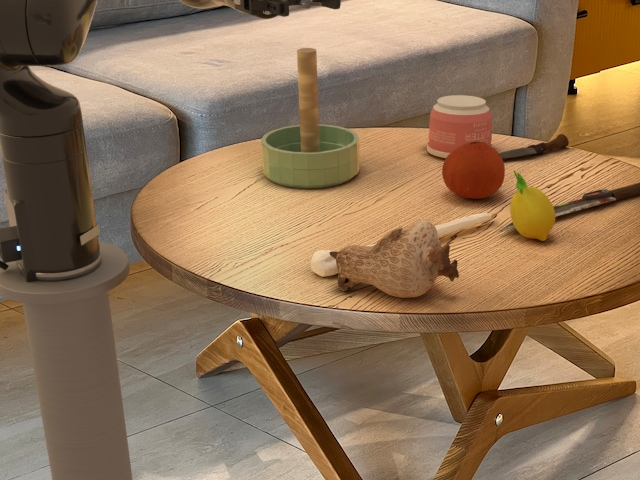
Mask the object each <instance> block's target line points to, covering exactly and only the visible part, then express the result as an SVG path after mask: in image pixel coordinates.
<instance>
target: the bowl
mask: <svg viewBox="0 0 640 480" xmlns="http://www.w3.org/2000/svg"><path fill="white" fill-rule="evenodd" d="M319 141H320V152H301V138H300V124H295V125H288V126H283V127H280V128H276V129H273V130H270V131H269V132H267V133H265V134H263V136H262V138H260V144H261V145H260V146H261V161H262V173H263V175H264V176H265V177H266V178H267V179H269V180H270V181H271V182H273V183H274V184H277V185H280V186H284V187H287V188H295V189H323V188H330V187H335V186H339V185H341V184H345V183H347V182H348V181H350V180H351V179H353V178H354V177H355V176H356V175H358V174H359V172H360V170H361V162H360V161H361V160H360V152H361V151H360V137H359V134H358V133H357V132H355V131H354V130H352V129H350V128H346V127H343V126H340V125H333V124H332V125H331V124H323V123H322V124H320V123H319Z"/></svg>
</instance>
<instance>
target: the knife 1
mask: <svg viewBox="0 0 640 480" xmlns="http://www.w3.org/2000/svg"><path fill="white" fill-rule="evenodd" d="M569 144H570V141H569V139H568V137H567V136H566V135H565V134H564V133H559V134H558V135H557V136H556V137H555V138H553V139H552V140H550V141H548V142H540V143H537V144H529V145H528V146H526V147H520V148H519V147H518V148H514V149H510V150H506V151H503V152H498V153H499V154H500V156H501V157H502V160H505V159H513V158H521V157H526V156H535V155H540V154H543V153H544V152H545V153H546V152H552V151H554V150H556V149H557V150H558V149H560V148H563V149H564V148H567V147H568V146H569Z"/></svg>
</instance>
